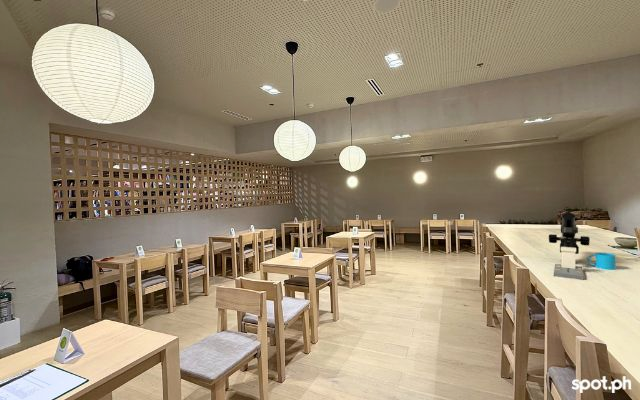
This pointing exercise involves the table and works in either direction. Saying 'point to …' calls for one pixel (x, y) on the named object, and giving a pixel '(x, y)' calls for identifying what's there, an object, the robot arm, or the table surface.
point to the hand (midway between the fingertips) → (568, 251)
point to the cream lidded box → (568, 257)
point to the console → (568, 272)
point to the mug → (604, 261)
